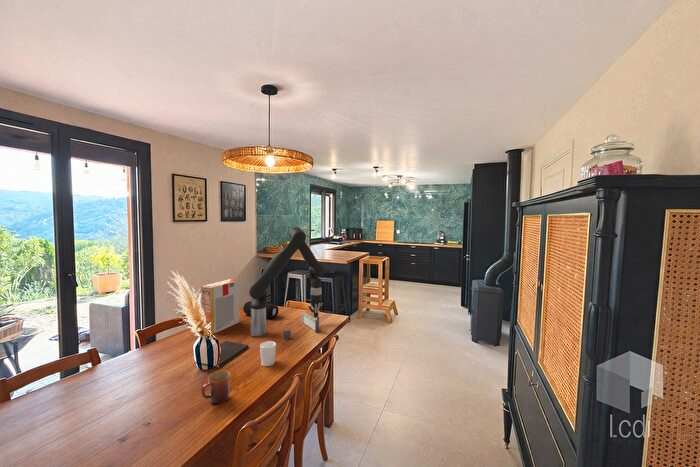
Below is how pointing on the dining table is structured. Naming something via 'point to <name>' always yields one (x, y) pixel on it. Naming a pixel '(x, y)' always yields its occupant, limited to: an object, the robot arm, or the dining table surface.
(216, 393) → the mug
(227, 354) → the hardcover book
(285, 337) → the latch block
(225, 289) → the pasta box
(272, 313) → the portable speaker
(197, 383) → the dining table surface
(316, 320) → the hinge post
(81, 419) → the dining table surface
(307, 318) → the gate
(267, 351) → the white cup
